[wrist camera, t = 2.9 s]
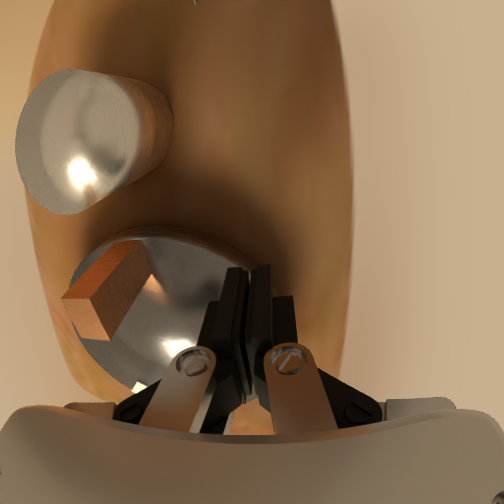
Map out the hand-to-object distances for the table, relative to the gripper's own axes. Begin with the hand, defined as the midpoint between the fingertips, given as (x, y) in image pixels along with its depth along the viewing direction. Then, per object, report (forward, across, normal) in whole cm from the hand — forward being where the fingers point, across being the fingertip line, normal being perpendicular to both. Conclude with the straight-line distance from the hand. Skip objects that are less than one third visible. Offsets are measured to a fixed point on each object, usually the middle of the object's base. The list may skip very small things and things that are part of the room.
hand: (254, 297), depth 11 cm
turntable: (+4, +6, +6) cm, 9 cm away
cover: (+6, +7, -8) cm, 12 cm away
